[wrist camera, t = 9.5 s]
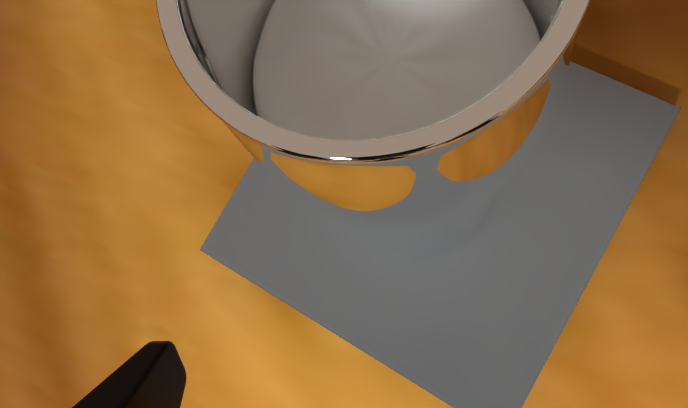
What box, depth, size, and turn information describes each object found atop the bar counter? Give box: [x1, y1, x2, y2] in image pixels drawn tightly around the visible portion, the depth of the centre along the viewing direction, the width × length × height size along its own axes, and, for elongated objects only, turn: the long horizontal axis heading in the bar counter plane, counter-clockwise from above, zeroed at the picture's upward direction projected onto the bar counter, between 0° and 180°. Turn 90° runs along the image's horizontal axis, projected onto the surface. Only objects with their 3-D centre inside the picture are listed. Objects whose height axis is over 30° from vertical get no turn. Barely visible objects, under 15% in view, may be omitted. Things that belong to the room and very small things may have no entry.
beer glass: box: [156, 0, 590, 254], centre depth 15 cm, size 7×7×15 cm
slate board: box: [200, 61, 681, 408], centre depth 23 cm, size 14×14×1 cm
